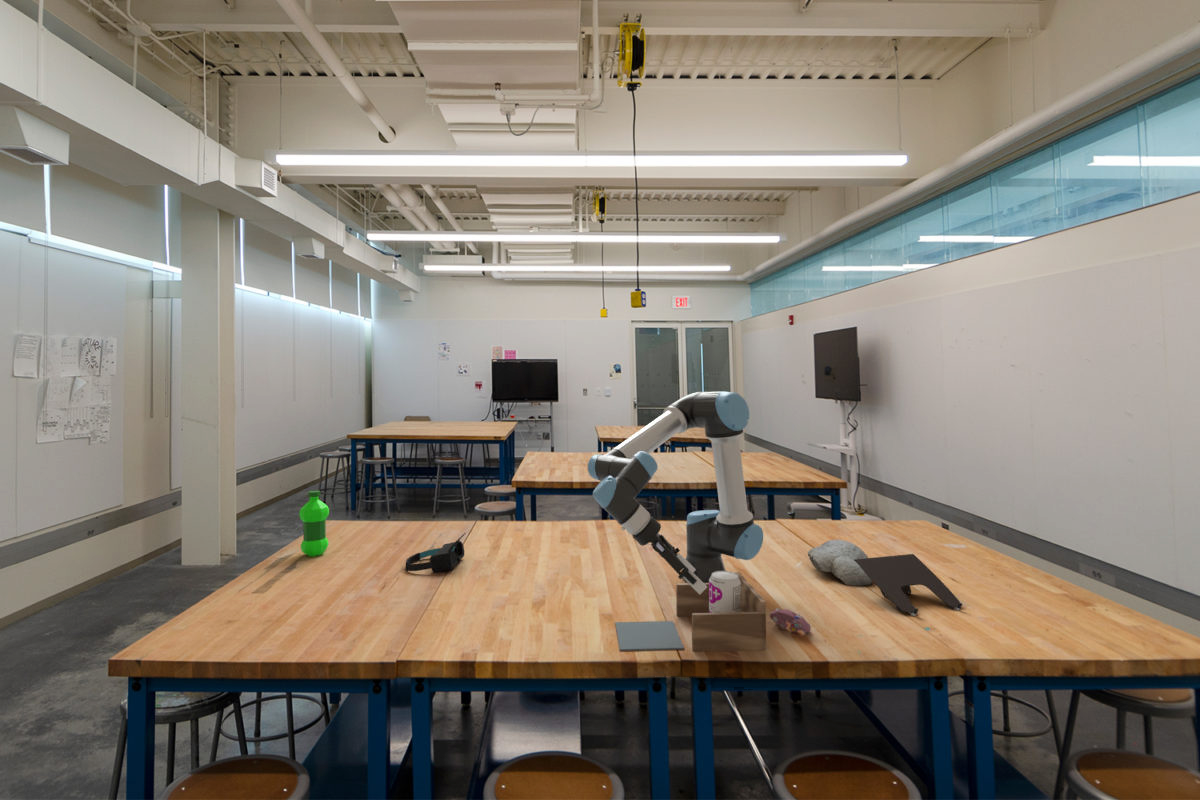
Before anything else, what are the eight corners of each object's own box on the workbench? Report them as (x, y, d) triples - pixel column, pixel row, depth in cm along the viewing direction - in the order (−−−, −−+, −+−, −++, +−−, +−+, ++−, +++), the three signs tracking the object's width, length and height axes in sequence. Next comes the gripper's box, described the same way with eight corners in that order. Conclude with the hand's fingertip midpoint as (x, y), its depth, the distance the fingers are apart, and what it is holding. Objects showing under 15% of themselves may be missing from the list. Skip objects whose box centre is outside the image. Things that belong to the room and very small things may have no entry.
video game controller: (771, 631, 151) (765, 611, 149) (778, 619, 154) (773, 600, 152) (806, 642, 144) (801, 622, 142) (813, 629, 147) (808, 610, 145)
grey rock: (873, 589, 179) (874, 561, 179) (804, 579, 188) (804, 553, 188) (871, 564, 204) (871, 539, 204) (810, 556, 213) (810, 533, 213)
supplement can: (718, 639, 143) (718, 581, 143) (704, 626, 151) (704, 571, 151) (746, 635, 145) (746, 578, 145) (730, 622, 153) (730, 568, 153)
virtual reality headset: (459, 571, 195) (454, 543, 195) (398, 581, 196) (394, 553, 195) (472, 555, 214) (468, 529, 213) (417, 563, 214) (413, 538, 214)
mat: (615, 623, 153) (615, 622, 153) (672, 622, 153) (672, 620, 153) (619, 650, 137) (619, 649, 137) (684, 649, 137) (684, 647, 137)
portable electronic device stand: (895, 634, 159) (907, 611, 155) (846, 575, 179) (855, 554, 175) (959, 625, 165) (972, 603, 161) (905, 569, 185) (915, 548, 180)
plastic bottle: (293, 557, 215) (293, 493, 214) (315, 549, 225) (314, 488, 225) (314, 559, 212) (313, 494, 212) (335, 551, 222) (334, 489, 222)
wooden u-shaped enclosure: (676, 614, 159) (676, 573, 158) (739, 613, 159) (739, 571, 159) (693, 651, 136) (693, 603, 136) (765, 649, 137) (765, 601, 137)
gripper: (627, 524, 158) (678, 575, 159) (636, 549, 133) (697, 609, 134) (645, 505, 158) (697, 557, 159) (658, 526, 134) (719, 587, 134)
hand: (697, 581), depth 147 cm, fingers open, 13 cm apart
